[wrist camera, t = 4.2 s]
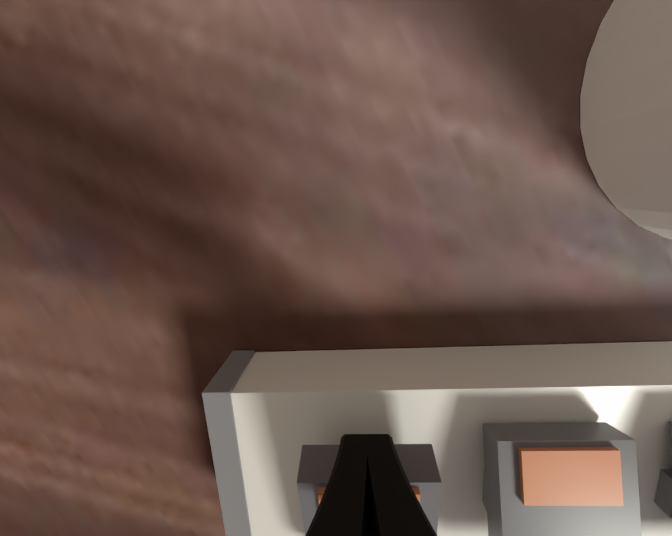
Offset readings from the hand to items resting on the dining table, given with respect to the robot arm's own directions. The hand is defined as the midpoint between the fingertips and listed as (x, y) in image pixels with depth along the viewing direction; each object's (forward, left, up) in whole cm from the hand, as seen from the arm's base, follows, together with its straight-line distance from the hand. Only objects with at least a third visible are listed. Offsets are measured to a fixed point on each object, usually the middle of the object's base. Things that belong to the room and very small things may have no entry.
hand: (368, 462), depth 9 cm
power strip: (-3, -9, -5) cm, 11 cm away
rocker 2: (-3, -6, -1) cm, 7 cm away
